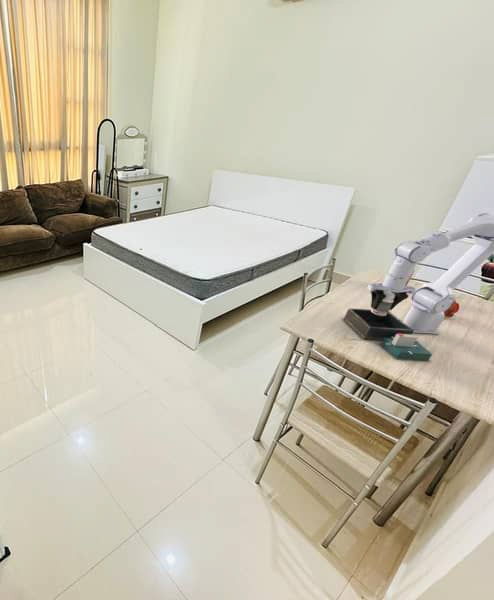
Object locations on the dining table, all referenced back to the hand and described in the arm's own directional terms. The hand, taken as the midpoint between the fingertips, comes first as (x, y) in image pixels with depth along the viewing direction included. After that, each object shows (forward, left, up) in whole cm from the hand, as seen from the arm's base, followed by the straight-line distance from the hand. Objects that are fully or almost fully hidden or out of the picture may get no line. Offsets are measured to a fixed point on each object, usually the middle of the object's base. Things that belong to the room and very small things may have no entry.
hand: (380, 308), depth 119 cm
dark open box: (0, +1, -9) cm, 9 cm away
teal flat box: (-2, +14, -9) cm, 17 cm away
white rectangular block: (-1, +14, -6) cm, 15 cm away
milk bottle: (-33, -39, -9) cm, 52 cm away
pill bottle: (0, 0, -2) cm, 2 cm away
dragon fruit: (-35, -15, -9) cm, 40 cm away
